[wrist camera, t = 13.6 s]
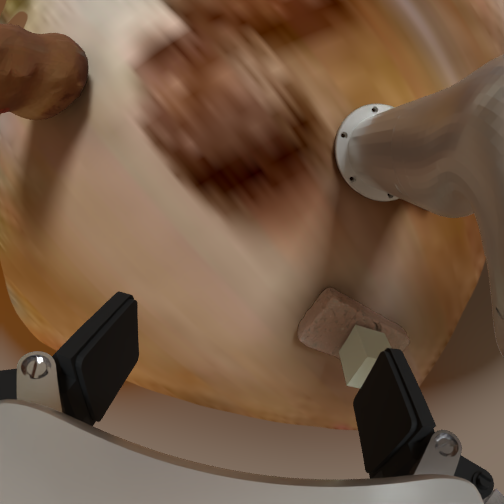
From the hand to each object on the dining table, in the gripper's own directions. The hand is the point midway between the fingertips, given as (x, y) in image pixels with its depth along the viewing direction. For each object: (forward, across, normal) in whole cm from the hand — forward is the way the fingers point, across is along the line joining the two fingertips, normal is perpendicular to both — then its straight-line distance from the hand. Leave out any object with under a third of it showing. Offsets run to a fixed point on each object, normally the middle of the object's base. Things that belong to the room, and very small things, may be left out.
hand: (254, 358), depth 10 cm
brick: (+29, -16, +15) cm, 36 cm away
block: (+24, -16, +15) cm, 33 cm away
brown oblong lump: (+28, +35, -15) cm, 48 cm away
